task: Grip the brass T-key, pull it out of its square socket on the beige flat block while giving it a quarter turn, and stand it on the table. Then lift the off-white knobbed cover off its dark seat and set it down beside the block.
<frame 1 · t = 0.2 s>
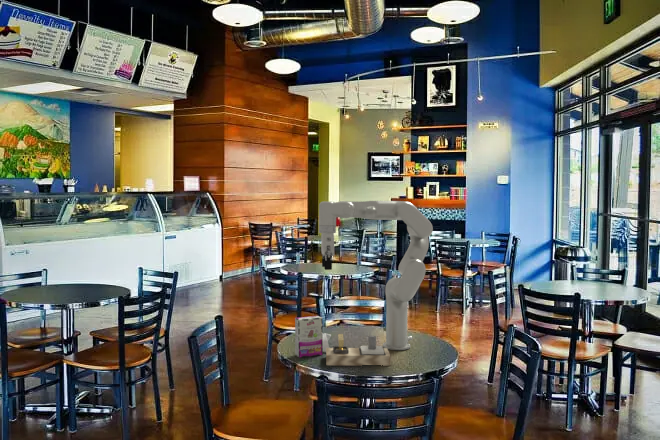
hand: (326, 268, 261), 37 cm above the table, tool pointing down, fingers open, 9 cm apart
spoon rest: (320, 346, 271), on the table
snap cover: (372, 351, 246), point 4 cm above the table, touching beige flat block
beige flat block: (357, 361, 246), on the table
candy bar box: (308, 355, 255), on the table
t key: (340, 351, 246), point 4 cm above the table, touching beige flat block
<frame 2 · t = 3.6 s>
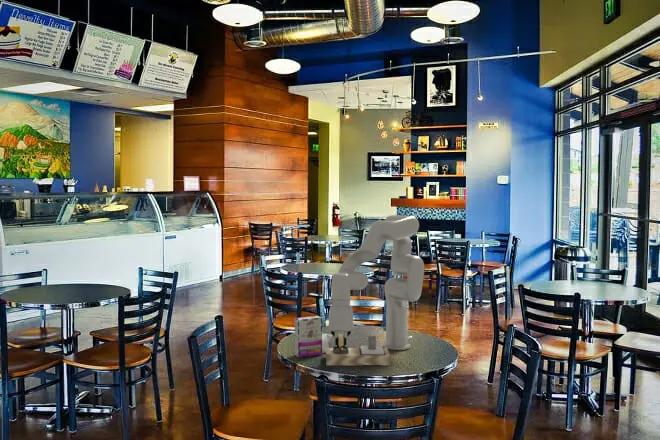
hand: (340, 346, 246), 6 cm above the table, tool pointing down, fingers closed on t key, 2 cm apart
t key: (340, 351, 246), point 4 cm above the table, touching gripper
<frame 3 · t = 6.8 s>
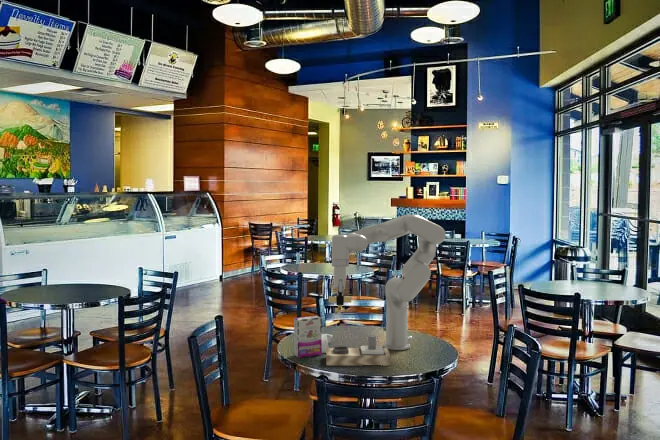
hand: (340, 304, 261), 21 cm above the table, tool pointing down, fingers closed on t key
t key: (339, 310, 261), point 18 cm above the table, touching gripper
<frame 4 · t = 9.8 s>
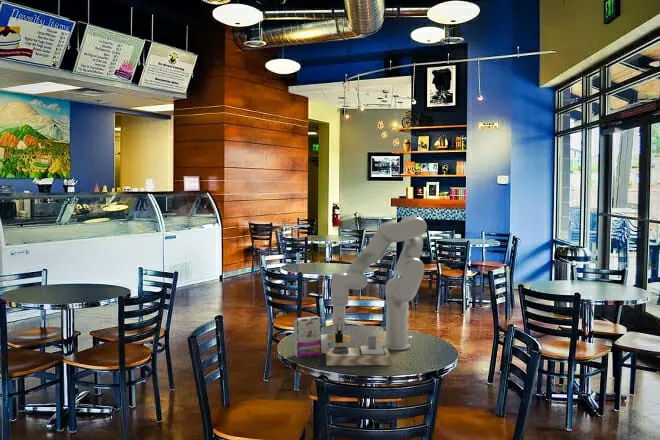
hand: (338, 341, 262), 4 cm above the table, tool pointing down, fingers closed on t key, 2 cm apart
t key: (338, 349, 262), point 1 cm above the table, touching gripper
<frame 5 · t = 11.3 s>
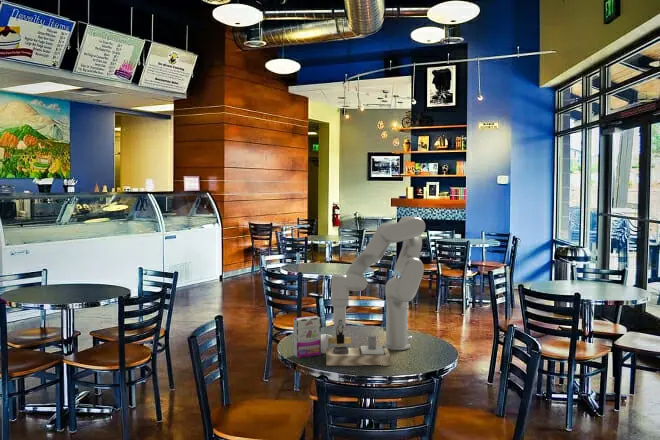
hand: (340, 340, 262), 5 cm above the table, tool pointing down, fingers open, 9 cm apart
t key: (339, 351, 262), on the table
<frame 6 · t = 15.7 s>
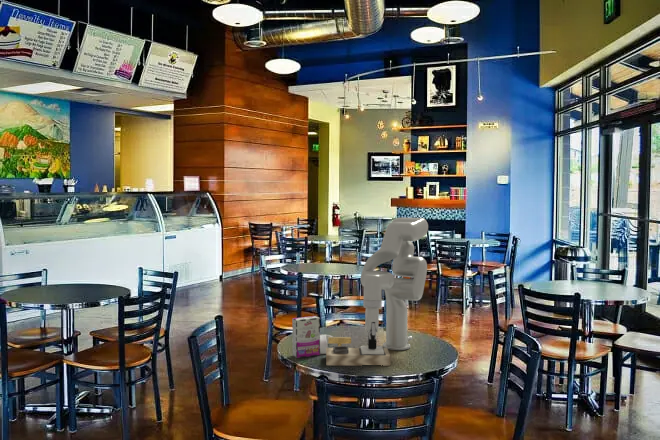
hand: (372, 347, 246), 6 cm above the table, tool pointing down, fingers closed on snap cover, 3 cm apart
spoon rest: (321, 348, 269), on the table, touching t key
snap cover: (372, 351, 246), point 4 cm above the table, touching gripper, beige flat block
t key: (339, 351, 262), on the table, touching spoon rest
when the fingers open (3 cm above the table, at t = 22.6 s): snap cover drops 2 cm, on the table.
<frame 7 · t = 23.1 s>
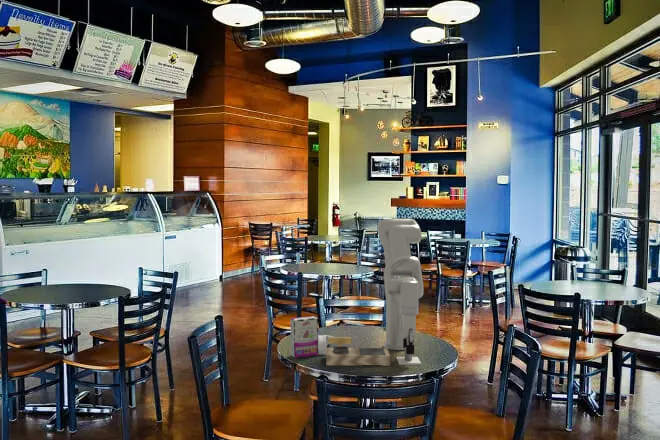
hand: (408, 351, 246), 4 cm above the table, tool pointing down, fingers open, 9 cm apart
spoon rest: (321, 348, 268), on the table
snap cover: (408, 362, 247), on the table
t key: (340, 351, 262), on the table
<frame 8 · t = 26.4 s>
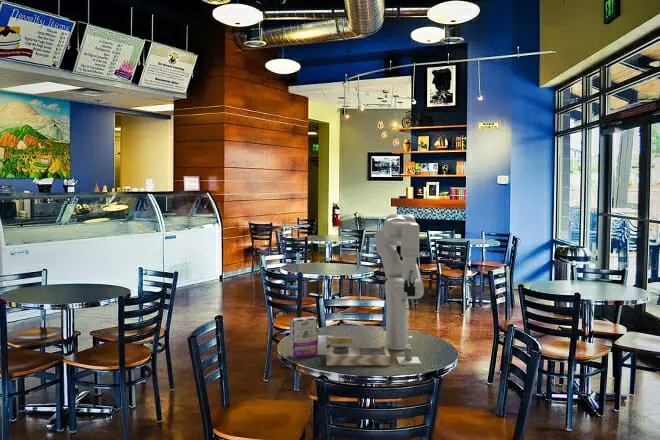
hand: (409, 294, 245), 28 cm above the table, tool pointing down, fingers open, 9 cm apart
at the end: t key inside the target area (0.3 cm from its centre), on the table; t key tilted 0°; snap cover inside the target area (0.0 cm from its centre), on the table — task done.
